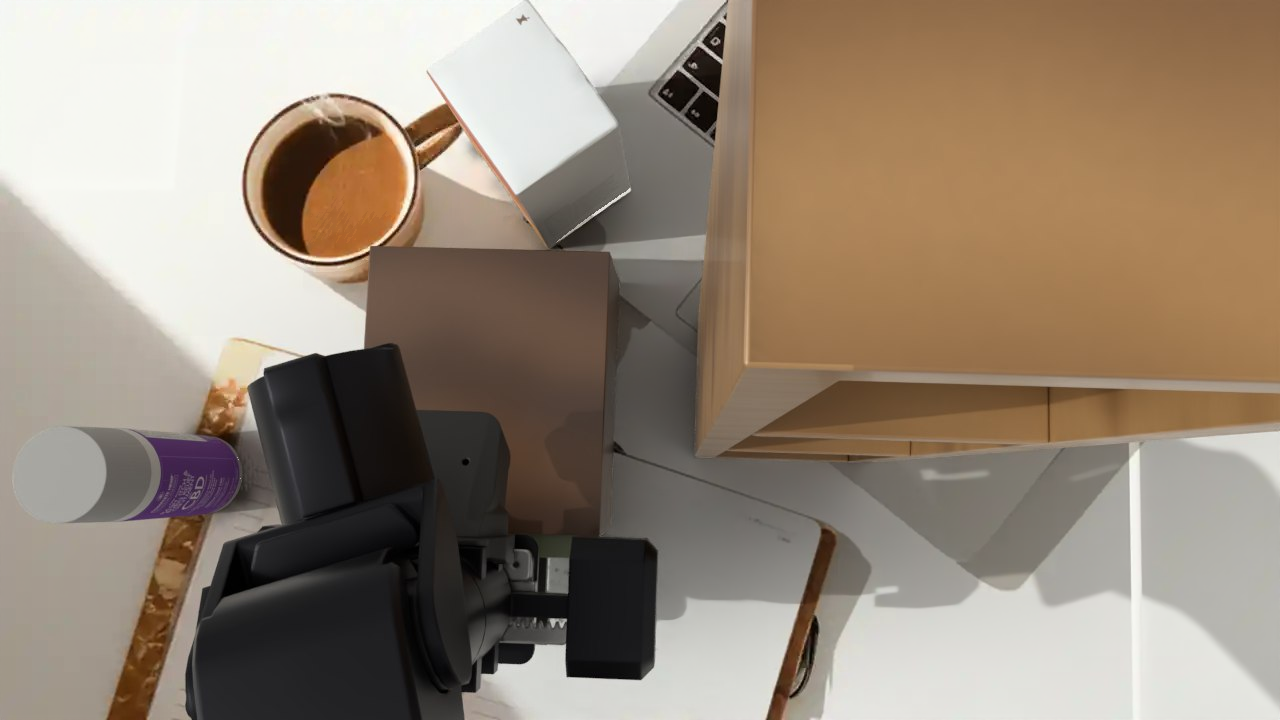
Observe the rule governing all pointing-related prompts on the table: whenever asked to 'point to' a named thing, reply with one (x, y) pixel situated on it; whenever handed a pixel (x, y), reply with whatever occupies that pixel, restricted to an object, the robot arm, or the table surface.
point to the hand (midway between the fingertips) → (486, 582)
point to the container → (123, 475)
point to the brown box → (514, 364)
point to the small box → (535, 121)
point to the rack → (990, 227)
